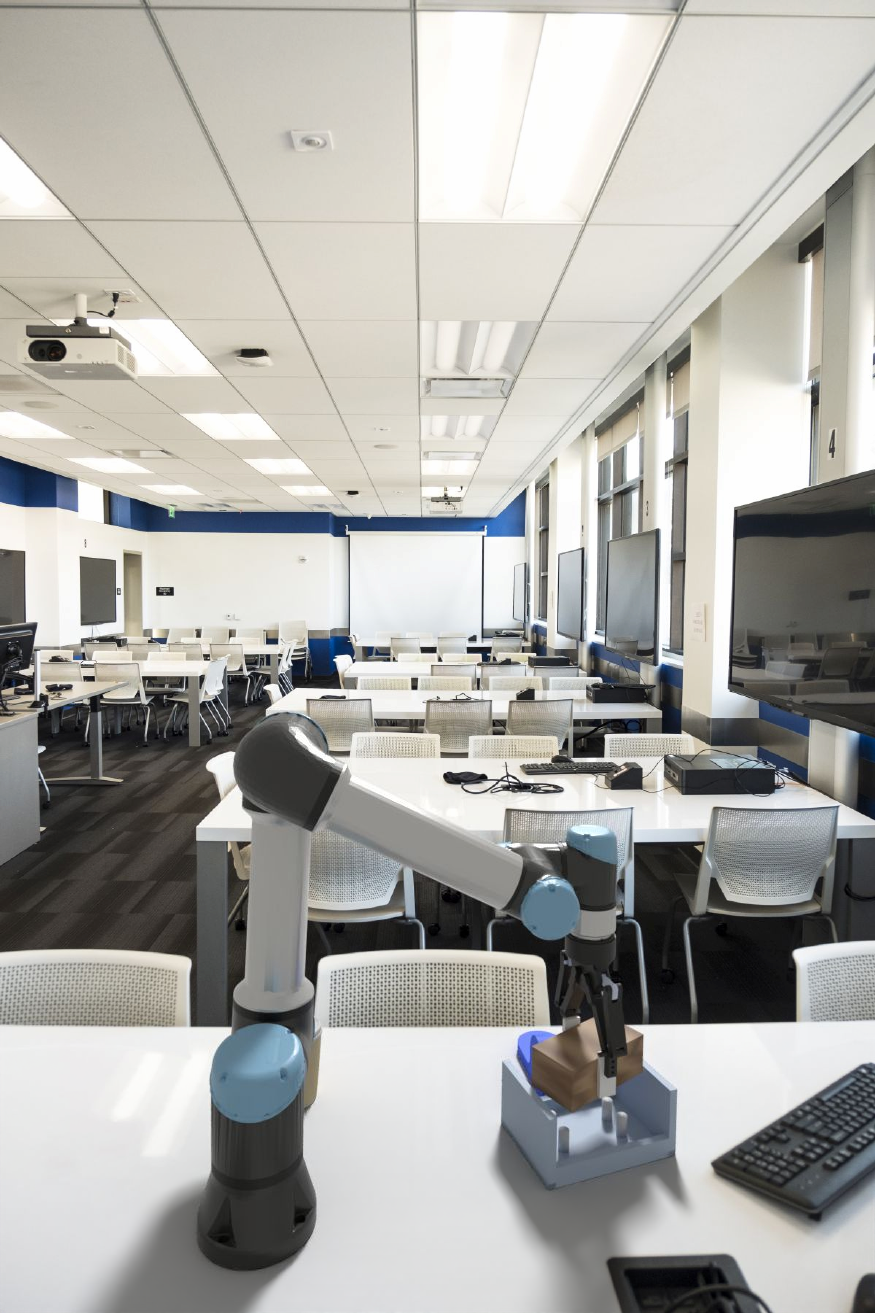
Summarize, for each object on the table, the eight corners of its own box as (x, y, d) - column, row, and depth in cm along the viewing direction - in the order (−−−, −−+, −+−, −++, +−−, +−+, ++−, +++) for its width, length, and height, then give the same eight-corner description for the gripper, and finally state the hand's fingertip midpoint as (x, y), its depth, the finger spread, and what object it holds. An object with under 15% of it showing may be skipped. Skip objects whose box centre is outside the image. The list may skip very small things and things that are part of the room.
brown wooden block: (602, 1049, 125) (602, 1013, 125) (642, 1072, 119) (643, 1034, 119) (531, 1085, 116) (532, 1046, 115) (571, 1112, 109) (572, 1071, 109)
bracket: (589, 1098, 128) (591, 1045, 128) (541, 1102, 127) (542, 1049, 126) (554, 1039, 146) (555, 993, 145) (512, 1043, 144) (513, 996, 144)
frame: (548, 1190, 107) (549, 1120, 106) (501, 1123, 121) (502, 1060, 121) (675, 1155, 114) (677, 1089, 114) (616, 1095, 129) (618, 1036, 128)
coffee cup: (327, 1082, 131) (328, 1012, 131) (313, 1117, 122) (314, 1042, 121) (274, 1078, 132) (274, 1009, 132) (256, 1112, 123) (256, 1038, 122)
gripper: (656, 957, 107) (653, 1114, 108) (574, 902, 128) (572, 1034, 129) (609, 965, 105) (606, 1126, 106) (533, 907, 125) (531, 1043, 126)
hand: (587, 1076), depth 117 cm, fingers closed on brown wooden block, 9 cm apart
